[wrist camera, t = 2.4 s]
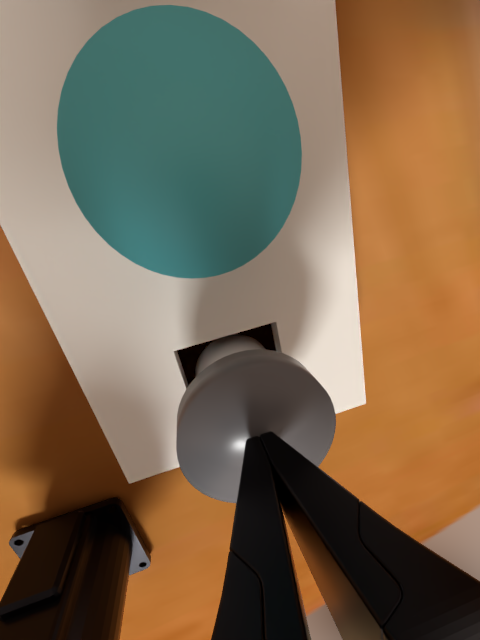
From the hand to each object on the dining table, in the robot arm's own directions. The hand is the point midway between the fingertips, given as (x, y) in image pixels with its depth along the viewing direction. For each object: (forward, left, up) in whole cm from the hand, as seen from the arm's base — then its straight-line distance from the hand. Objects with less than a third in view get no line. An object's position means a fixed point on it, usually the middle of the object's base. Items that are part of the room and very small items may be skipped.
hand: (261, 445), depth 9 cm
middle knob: (+8, 0, -4) cm, 9 cm away
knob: (0, 0, -4) cm, 4 cm away
